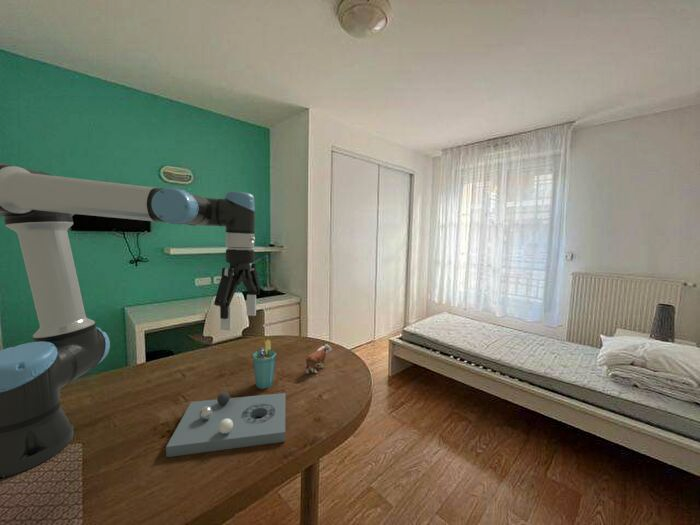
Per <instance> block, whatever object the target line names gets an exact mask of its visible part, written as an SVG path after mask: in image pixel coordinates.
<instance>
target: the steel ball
mask: <svg viewBox="0 0 700 525" xmlns="http://www.w3.org/2000/svg"><path fill="white" fill-rule="evenodd" d="M212 414H213V410H212V408H211V407H209V406H205V407H203V408H202V409H201V410H200V412H199V418H200V419H201V420H207V419H209V418H210V417H211V416H212Z"/></svg>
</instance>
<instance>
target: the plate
mask: <svg viewBox="0 0 700 525" xmlns="http://www.w3.org/2000/svg"><path fill="white" fill-rule="evenodd" d="M205 406H209V407H211V408H212V410H213V414H212V416H211V417H210V418H209V419H207V420H201V419H200V418H199V412H200V410H201V409H202V408H203V407H205ZM257 417H261V418H257ZM227 418H228V419H231V420H232V422H233V428H232V430H231V431H230V432H229V433H226V434H222V433H221V432H220V431H219V424H220V422H221V421H222V420H224V419H227ZM284 442H286V392H279V393H272V394H271V393H270V394H269V393H268V394H260V395H259V394H258V395H248V396H240V397H239V396H238V397H230V399H229V401H228V402H227V403H226V404H224V405H221V404H219V403H218V401H217V398H216V399H206V400H205V399H204V400H197V401H190V403H189V405H188V406H187V409H186V410H185V413H184V414H183V416H182V417H181V420H180V422H178V424H177V427H176V428H175V430H174V432H173V434H172V436H171V437H170V439H169V441H168V443H167V444H166V447H165V452H166V453H165V454H166V455H165V456H166V458H169V457H171V458H172V457H178V456H179V457H180V456H185V455H187V456H188V455H193V454H200V453H201V454H202V453H208V452H217V451H225V450H229V449H237V448H238V449H239V448H246V447H254V446H260V445H261V446H262V445H268V444H278V443H284Z"/></svg>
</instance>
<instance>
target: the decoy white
mask: <svg viewBox="0 0 700 525" xmlns="http://www.w3.org/2000/svg"><path fill="white" fill-rule="evenodd" d="M232 428H233V422H232V420H231V419H228V418H227V419H224V420H222V421H221V422H220V424H219V431H220V432H221V433H222V434H226V433H229V432H230V431H231V430H232Z"/></svg>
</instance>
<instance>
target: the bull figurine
mask: <svg viewBox="0 0 700 525" xmlns="http://www.w3.org/2000/svg"><path fill="white" fill-rule="evenodd" d="M332 351H333V349H332V347H331V346H330V345H328V343H325V344H322V346H320V347H319V348H318V349H316V350H315V351H314V352H312V353H311V354H309V355H308V356H307V357H306V359H305V363H306V367H305V370H306V371H305V373H306V374H307V375H308V374H310V372H309V368H310V370H311V372H312V373H313V372H314V374H318V373H319V372H318V371H317V369H316V366H317V365H318V366H320V368H321V369H324V368H323V367H324V363H325V360H326V357H327V356H326V355H327V354H328V353H329V352H332Z"/></svg>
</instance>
